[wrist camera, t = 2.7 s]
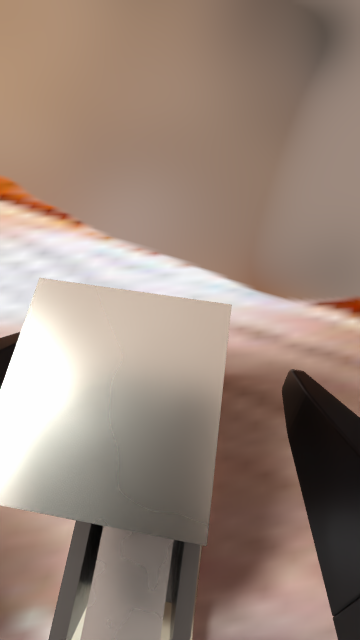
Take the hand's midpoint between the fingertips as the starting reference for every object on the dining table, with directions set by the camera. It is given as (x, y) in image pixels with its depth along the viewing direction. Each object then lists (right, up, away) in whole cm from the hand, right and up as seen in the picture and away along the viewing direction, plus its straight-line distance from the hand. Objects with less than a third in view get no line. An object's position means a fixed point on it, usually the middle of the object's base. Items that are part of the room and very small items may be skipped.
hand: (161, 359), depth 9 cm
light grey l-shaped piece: (-1, -7, +3) cm, 8 cm away
